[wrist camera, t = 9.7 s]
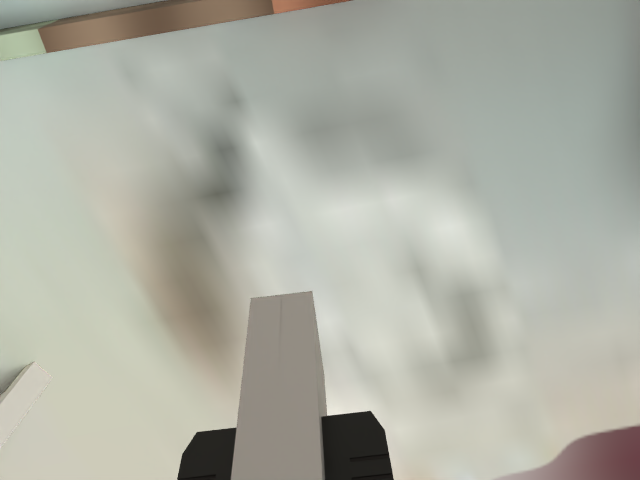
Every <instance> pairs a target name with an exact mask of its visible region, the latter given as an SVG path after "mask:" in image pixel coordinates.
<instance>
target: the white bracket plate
mask: <svg viewBox="0 0 640 480" xmlns="http://www.w3.org/2000/svg"><path fill="white" fill-rule="evenodd" d="M52 379H53V377H52V376H51V375H50V374H48V373H47V372H46V371H45V370H44V369H43V368H41V367H40V366H39V365H38V364H37V363H36V362H33V363H31V364H29V365H28V366H26V367H25V368H24V369H23V370H22V371H21V373H20V374H19V375H18V376H17V377H16V379H15V380H14V381H13V382H12V384H11V385H10V386H9V387H8V389H7V390H6V391H5V392H4V393H2V394H1V395H0V448H1V447H2V446H3V444H4V443H5V442H6V440H7V439H8V438H9V436H10V435H11V434H12V432H13V431H14V430H15V428H16V427H17V426H18V424H19V423H20V422H21V420H22V419H23V418H24V416H25V415H26V414H27V412H28V411H29V410H30V408H31V407H32V406H33V404H34V403H35V402H36V400H37V399H38V398H39V396H40V395H41V394H42V392H43V391H44V390H45V388H46V387H47V386H48V384H49V383H50V382H51V380H52Z"/></svg>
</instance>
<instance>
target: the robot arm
mask: <svg viewBox="0 0 640 480" xmlns="http://www.w3.org/2000/svg"><path fill="white" fill-rule="evenodd" d="M177 479H178V480H394V479H393V474H392V468H391V462H390V458H389V451H388V446H387V441H386V435H385V430H384V429H383V427H382V426H381V425H380V423H379V422H378V420H377V419H376V418H375V416H374V415H373V414H372V412H371V411H367V412H358V413H349V414H340V415H331V416H327V408H326V394H325V379H324V370H323V363H322V356H321V349H320V342H319V335H318V328H317V321H316V314H315V308H314V301H313V294H312V291H309V292H300V293H292V294H283V295H275V296H266V297H258V298H251V302H250V311H249V320H248V329H247V338H246V347H245V356H244V365H243V374H242V384H241V393H240V402H239V411H238V420H237V428H229V429H221V430H212V431H203V432H197V433H196V434H195V436H194V437H193V439H192V440H191V442H190V444H189V445H188V447H187V448H186V450H185V451H184V453H183V454H182V459H181V464H180V468H179V473H178V478H177Z"/></svg>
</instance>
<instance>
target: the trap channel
mask: <svg viewBox="0 0 640 480" xmlns="http://www.w3.org/2000/svg"><path fill="white" fill-rule="evenodd" d="M346 1H351V0H167V1H162V2H156V3H150V4H144V5H139V6H133V7H127V8H121V9H116V10H110V11H104V12H98V13H93V14H87V15H81V16H75V17H69V18H64V19H58V20H52V21H46V22H41V23H35V24H29V25H23V26H18V27H12V28H6V29H0V61H3V60H9V59H15V58H21V57H26V56H32V55H38V54H44V53H50V52H55V51H61V50H67V49H73V48H79V47H84V46H90V45H96V44H102V43H108V42H113V41H119V40H125V39H131V38H137V37H143V36H148V35H154V34H160V33H166V32H172V31H177V30H183V29H189V28H195V27H201V26H206V25H212V24H218V23H224V22H230V21H235V20H241V19H247V18H253V17H259V16H264V15H270V14H276V13H282V12H288V11H293V10H299V9H305V8H311V7H317V6H322V5H328V4H334V3H340V2H346Z"/></svg>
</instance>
